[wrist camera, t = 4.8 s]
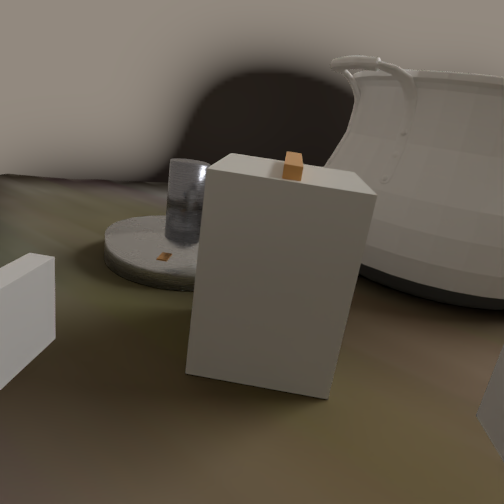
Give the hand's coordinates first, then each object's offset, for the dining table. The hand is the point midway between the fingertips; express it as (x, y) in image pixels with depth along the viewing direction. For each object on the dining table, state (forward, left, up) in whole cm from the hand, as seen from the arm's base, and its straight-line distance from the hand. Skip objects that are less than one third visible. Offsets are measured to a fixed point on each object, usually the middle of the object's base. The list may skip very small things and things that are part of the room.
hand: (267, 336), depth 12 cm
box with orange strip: (-9, -3, -6) cm, 12 cm away
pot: (-34, +4, -7) cm, 35 cm away
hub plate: (-17, -14, -6) cm, 23 cm away
